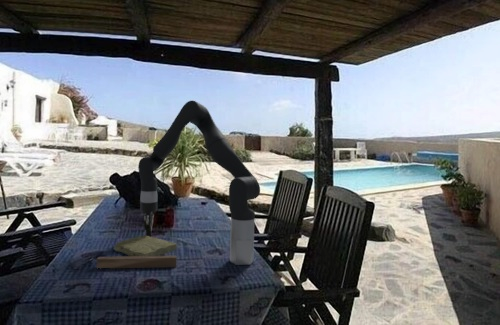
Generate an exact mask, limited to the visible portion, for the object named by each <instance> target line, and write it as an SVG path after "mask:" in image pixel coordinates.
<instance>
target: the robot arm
mask: <svg viewBox="0 0 500 325" xmlns="http://www.w3.org/2000/svg"><path fill="white" fill-rule="evenodd" d="M188 124H192V125H194V126H195V127H196V128H197V129H198V130H199V132H200V133H201V134H202V136H203V138H204V145H205V146H204V147H205V149H206V150H207V152H208V154H209V155H210V157H211V159H212V160H213V161H214V162H215V163H216V164H217V165H218V166H220V167H221V168H222V169H224V170H225V171H227V172H228V173H230V175H232V177H233V179H232V180H231V181H230V184H229V185H228V186H229V188H228V204H229V206H228V208H229V212H230V235H229V236H230V240H229V242H230V243H229V246H230V247H229V262H230V263H231V264H234V266H241V265H244V266H246V265H252V263H253V262H254V248H255V244H254V243H255V222H256V221H255V220H256V219H255V216H256V215H255V211H254V210H253V209H251V208H249V205H248V201H250V200H252V201H253V200H254V199H256V198H258V197H259V196H260V194H261V187H260V183H259V181H258V180H257V178H256V177H255V175H254V174H253V173H252V172H251V171H250V170H249V169H248V168H247V166H246V165H245V164H244V163H243V161H242V160H241V159H240V157H239V155H238V154H237V153H236V152H235V149H233V148H234V147H232V145H231V144H230V142H229V141H228V139H227V138H226V137H225V135H224V134H223V133H222V131H221V130H220V129H219V127H218V126H217V125H216V123H215V121H214V119H213V117H212V115H211V113H210V111H209V109H208V108H207V107H206V106H204V105H203V104H201V103H200V102H197V101H196V100H189V101H186V103H184V105H183V106H182V107H181V109H180V111H179V112H178V114H177V115H176V117H175V119H174V120H173V121H172V123H171V125H170V126H169V127H168V129H167V131H166V132H165V133H164V135H163V136H162V137H161V138H160V139H159V140H158V142H156V144H155V145H154V147H153V149H152V153H151V154H150V155H149V156H144V157H141V159H140V160H139V162H138V174H139V178H140V179H139V180H140V181H141V182H140V200H139V202H140V203H139V204H140V207H139V208H140V209H139V210H140V212H142V213H145V214H144V215H143V220H144V230H145V235H146V236H149V237H152V230H153V226H154V225H153V224H154V217H155V214H154V213H155V212H157V211H158V197H159V196H158V180H157V177H155V176H154V175H155V174H154V172H156V171H157V170H158V169H159V168H161V166H162V165H163V163H164V161H165V160H166V158H167V157H168V156H169V155H170V154H171V152H173V150H174V149H175V148H176V147H177V144H178V142H179V140H180V136H181V133H182V131H183V130H184V128H186V126H188Z"/></svg>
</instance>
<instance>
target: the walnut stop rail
mask: <svg viewBox="0 0 500 325" xmlns="http://www.w3.org/2000/svg"><path fill="white" fill-rule="evenodd" d="M177 260H178V256H177V255H159V256H128V255H126V256H98V257H97V258H96V270H97V269H98V268H100V269H101V268H110V269H137V268H138V269H139V268H140V269H141V268H142V269H143V268H144V269H145V268H177V265H178V264H177V263H178V261H177ZM100 269H98V270H100ZM101 270H102V269H101Z"/></svg>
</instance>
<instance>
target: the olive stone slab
mask: <svg viewBox="0 0 500 325" xmlns="http://www.w3.org/2000/svg"><path fill="white" fill-rule="evenodd" d="M177 248H178V245H177V243H175V242H171V241H169V240H165V239H161V238H157V237H152V236H151V237H149V236H146V234H145V235H143V236H136V237H131V238H128V239H125V240H122V241H119V242H117V243H115V245H114V247H113V250H114V251H115V252H121V253H122V254H124V255H126V256H163V255H165V254H167V253H170V252H173V251H176V250H177Z"/></svg>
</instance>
